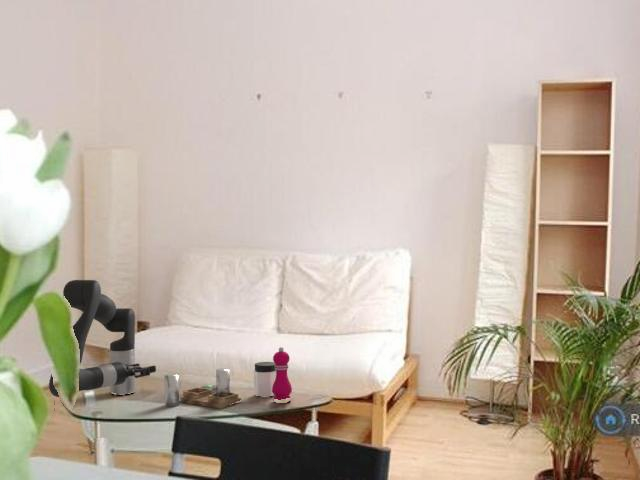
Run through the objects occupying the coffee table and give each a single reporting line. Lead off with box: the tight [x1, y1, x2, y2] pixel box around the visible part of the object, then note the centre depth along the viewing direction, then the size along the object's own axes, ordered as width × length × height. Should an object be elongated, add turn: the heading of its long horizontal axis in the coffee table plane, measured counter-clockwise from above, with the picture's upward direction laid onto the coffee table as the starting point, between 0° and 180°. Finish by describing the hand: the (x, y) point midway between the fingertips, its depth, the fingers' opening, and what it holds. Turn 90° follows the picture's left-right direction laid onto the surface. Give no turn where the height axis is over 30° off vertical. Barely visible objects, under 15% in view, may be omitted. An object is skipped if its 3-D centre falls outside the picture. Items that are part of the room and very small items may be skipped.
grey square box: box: [199, 384, 216, 394], centre depth 275 cm, size 6×6×3 cm
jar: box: [253, 361, 276, 397], centre depth 272 cm, size 9×8×12 cm
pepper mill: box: [272, 346, 293, 400], centre depth 261 cm, size 7×7×20 cm
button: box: [203, 384, 212, 389], centre depth 275 cm, size 3×3×3 cm
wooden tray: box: [180, 386, 242, 410], centre depth 263 cm, size 21×11×4 cm, turn 54°
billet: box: [164, 373, 180, 408], centre depth 259 cm, size 5×5×11 cm
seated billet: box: [215, 367, 231, 397], centre depth 259 cm, size 5×5×11 cm
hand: (147, 367), depth 250 cm, fingers open, 8 cm apart
